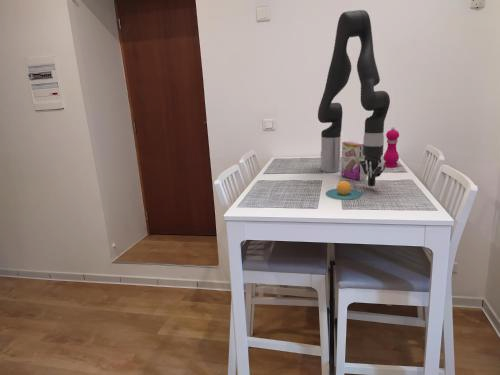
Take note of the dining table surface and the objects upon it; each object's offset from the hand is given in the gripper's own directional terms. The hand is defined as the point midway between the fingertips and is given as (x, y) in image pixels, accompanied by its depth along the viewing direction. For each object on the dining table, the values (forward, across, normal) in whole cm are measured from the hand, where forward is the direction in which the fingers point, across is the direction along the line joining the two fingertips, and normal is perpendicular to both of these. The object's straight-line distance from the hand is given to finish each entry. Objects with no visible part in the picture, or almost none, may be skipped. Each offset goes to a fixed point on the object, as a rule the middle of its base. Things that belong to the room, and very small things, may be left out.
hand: (371, 185), depth 137 cm
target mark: (+2, 0, -13) cm, 13 cm away
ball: (-1, +1, -13) cm, 13 cm away
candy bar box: (+2, -18, +4) cm, 19 cm away
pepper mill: (+2, -27, +32) cm, 42 cm away
